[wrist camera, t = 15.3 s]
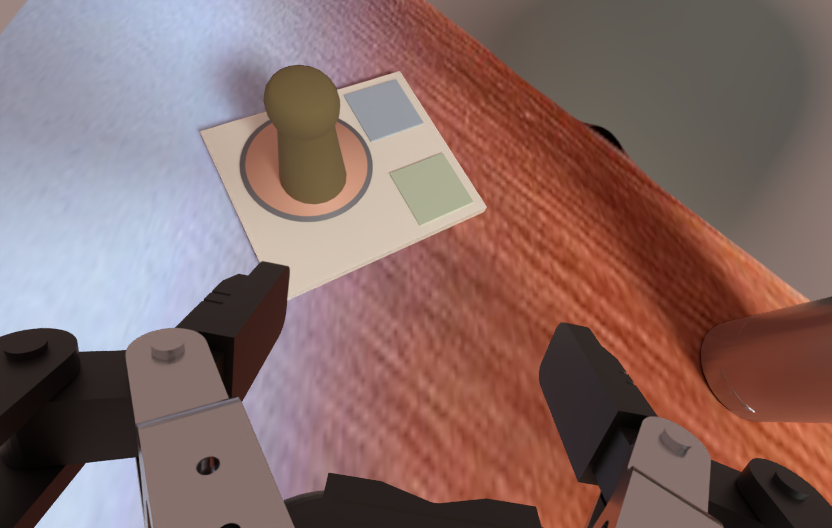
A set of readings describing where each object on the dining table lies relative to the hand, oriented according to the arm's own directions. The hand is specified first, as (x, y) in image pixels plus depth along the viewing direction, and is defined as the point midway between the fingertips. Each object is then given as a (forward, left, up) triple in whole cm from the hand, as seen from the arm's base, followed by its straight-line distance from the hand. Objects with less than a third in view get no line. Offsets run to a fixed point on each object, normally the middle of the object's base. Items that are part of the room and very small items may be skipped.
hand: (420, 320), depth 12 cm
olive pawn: (-3, -19, -22) cm, 29 cm away
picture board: (-6, -18, -23) cm, 30 cm away
